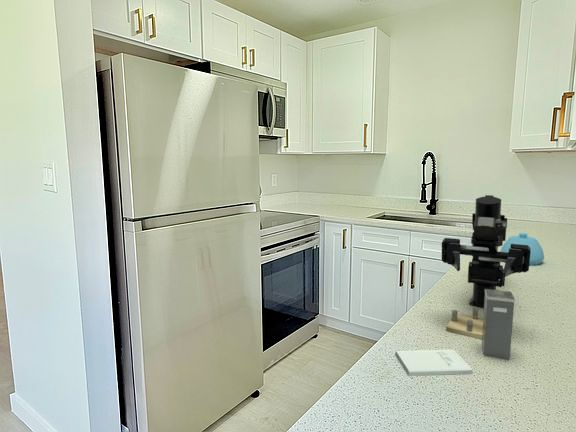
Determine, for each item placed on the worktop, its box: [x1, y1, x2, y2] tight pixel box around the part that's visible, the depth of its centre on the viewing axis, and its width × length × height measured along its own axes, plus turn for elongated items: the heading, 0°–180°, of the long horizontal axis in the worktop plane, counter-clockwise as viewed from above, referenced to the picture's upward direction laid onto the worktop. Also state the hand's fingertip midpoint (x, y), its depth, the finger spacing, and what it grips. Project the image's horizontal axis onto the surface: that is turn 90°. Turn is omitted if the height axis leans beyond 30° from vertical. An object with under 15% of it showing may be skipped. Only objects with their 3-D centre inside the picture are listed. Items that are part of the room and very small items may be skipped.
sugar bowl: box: [500, 232, 545, 266], centre depth 150 cm, size 15×15×12 cm
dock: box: [445, 307, 483, 340], centre depth 91 cm, size 10×10×4 cm
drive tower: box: [481, 289, 516, 361], centre depth 79 cm, size 5×5×13 cm
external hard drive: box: [395, 348, 473, 377], centre depth 75 cm, size 2×8×12 cm
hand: (480, 272), depth 83 cm, fingers open, 9 cm apart
